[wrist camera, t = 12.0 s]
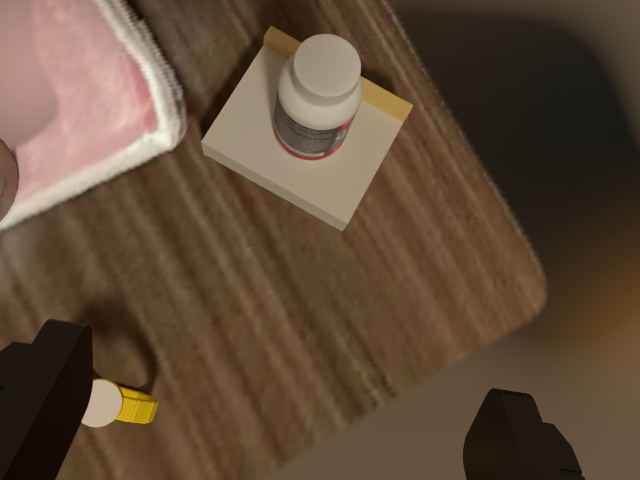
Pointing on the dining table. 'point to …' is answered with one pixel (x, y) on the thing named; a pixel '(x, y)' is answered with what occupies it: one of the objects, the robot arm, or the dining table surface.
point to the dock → (282, 170)
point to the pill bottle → (317, 98)
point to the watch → (117, 405)
